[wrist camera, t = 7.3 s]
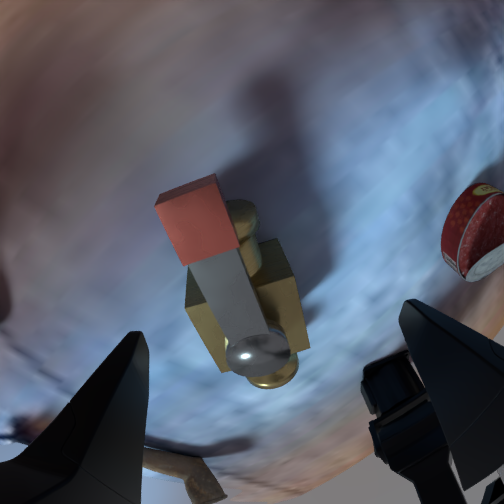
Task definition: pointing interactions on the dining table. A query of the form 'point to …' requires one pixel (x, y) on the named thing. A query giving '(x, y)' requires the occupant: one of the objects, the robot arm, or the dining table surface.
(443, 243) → the canned food
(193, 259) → the lever
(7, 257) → the dining table surface
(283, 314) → the valve
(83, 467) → the robot arm
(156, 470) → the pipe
